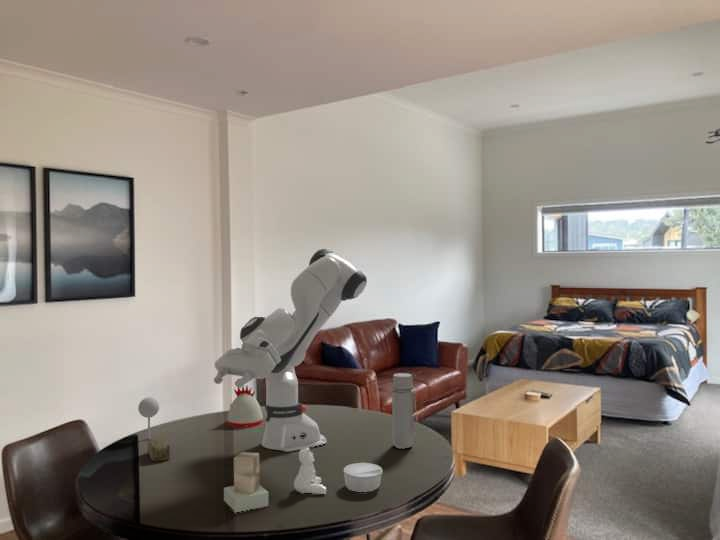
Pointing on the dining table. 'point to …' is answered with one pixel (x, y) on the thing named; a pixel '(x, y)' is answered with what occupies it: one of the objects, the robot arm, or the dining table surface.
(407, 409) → the water bottle
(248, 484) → the birch block
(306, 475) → the seated beast figurine
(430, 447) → the dining table surface
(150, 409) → the lollipop
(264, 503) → the sage block
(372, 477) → the ramekin
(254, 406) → the kitchen timer
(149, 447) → the stone block
